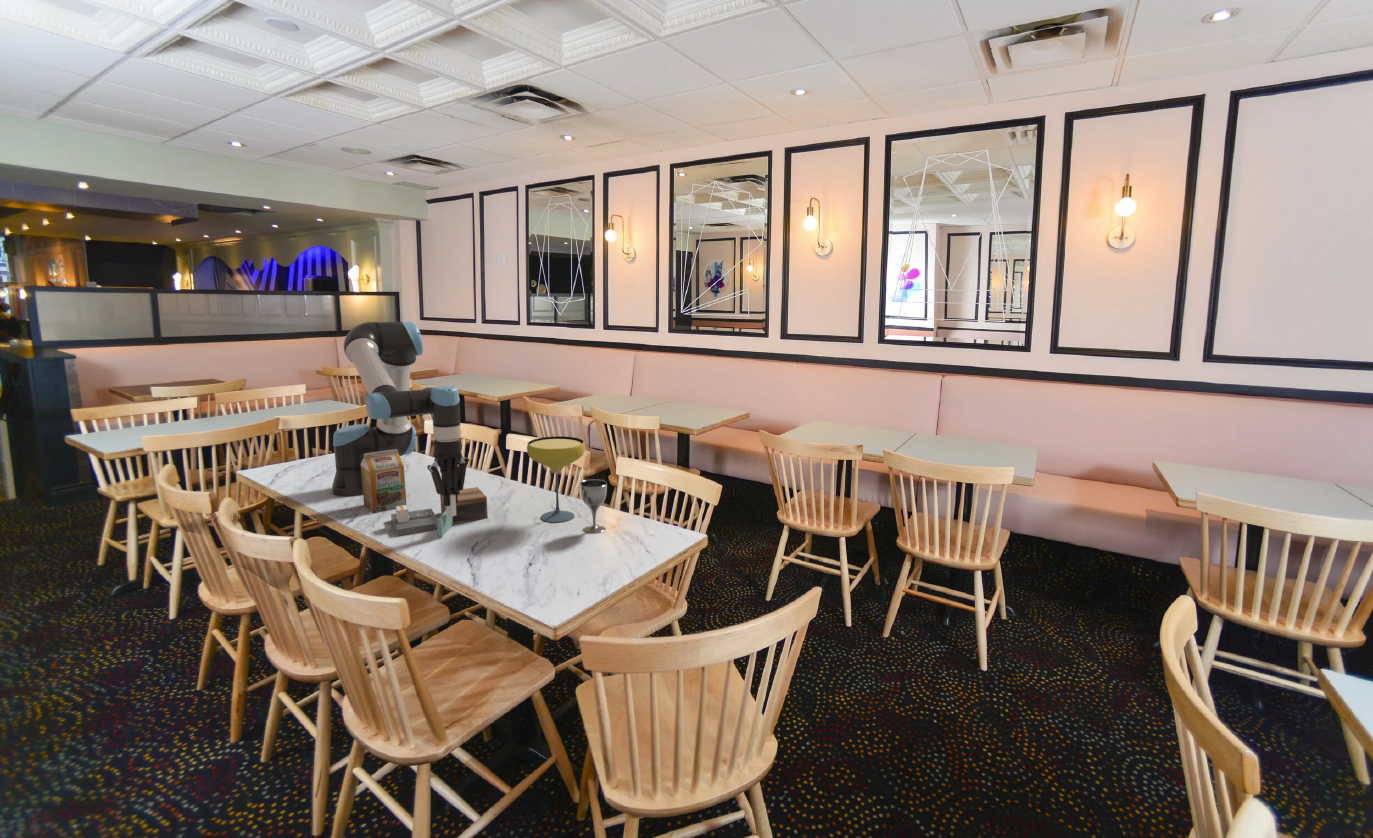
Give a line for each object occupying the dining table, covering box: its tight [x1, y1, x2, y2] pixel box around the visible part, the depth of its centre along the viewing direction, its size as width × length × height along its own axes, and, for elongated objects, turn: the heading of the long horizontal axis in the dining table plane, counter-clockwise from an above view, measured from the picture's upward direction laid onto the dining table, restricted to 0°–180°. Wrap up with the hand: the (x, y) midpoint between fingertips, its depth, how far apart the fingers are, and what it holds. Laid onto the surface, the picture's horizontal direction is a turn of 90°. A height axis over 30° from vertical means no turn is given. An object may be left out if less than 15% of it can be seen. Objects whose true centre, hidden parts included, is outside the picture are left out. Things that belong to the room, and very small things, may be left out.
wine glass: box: [580, 478, 608, 535], centre depth 193 cm, size 8×8×15 cm
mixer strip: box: [390, 508, 439, 537], centre depth 196 cm, size 15×12×2 cm
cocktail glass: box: [526, 436, 586, 524], centre depth 202 cm, size 18×18×25 cm
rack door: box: [435, 511, 454, 538], centre depth 190 cm, size 2×12×6 cm, turn 5°
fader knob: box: [395, 505, 410, 523], centre depth 193 cm, size 4×3×4 cm
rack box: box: [439, 486, 489, 524], centre depth 204 cm, size 12×12×7 cm
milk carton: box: [361, 449, 407, 514], centre depth 210 cm, size 11×11×19 cm
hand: (451, 514), depth 189 cm, fingers closed
